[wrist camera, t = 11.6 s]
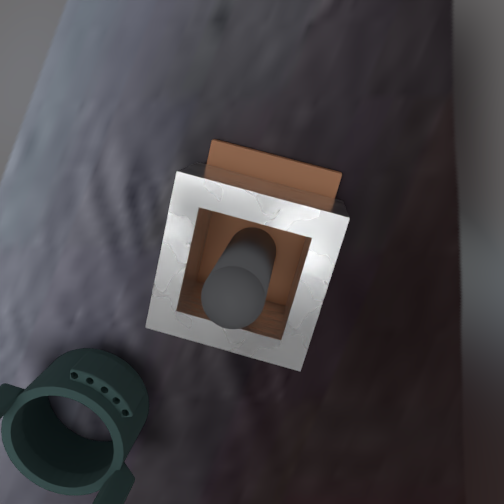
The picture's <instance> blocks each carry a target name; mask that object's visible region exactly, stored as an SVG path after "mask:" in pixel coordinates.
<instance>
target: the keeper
mask: <svg viewBox="0 0 504 504" xmlns="http://www.w3.org/2000/svg"><path fill="white" fill-rule="evenodd" d="M207 164H208V165H212V166H215V167H219V168H223V169H226V170H230V171H234V172H238V173H241V174H245V175H249V176H252V177H256V178H260V179H264V180H267V181H271V182H275V183H278V184H282V185H286V186H290V187H293V188H297V189H301V190H305V191H308V192H312V193H316V194H319V195H323V196H327V197H331V198H334V199H335V196H336V193H337V190H338V186H339V183H340V180H341V177H342V173H341V172H339V171H335V170H331V169H327V168H323V167H320V166H316V165H312V164H308V163H304V162H301V161H297V160H293V159H289V158H286V157H282V156H278V155H274V154H270V153H267V152H263V151H259V150H255V149H251V148H248V147H244V146H240V145H236V144H232V143H229V142H225V141H221V140H217V139H213V140H212V142H211V146H210V151H209V156H208V160H207ZM305 238H306V236H303V235H299V234H295V233H292V232H288V231H284V230H281V229H277V228H273V227H270V226H266V225H262V224H259V223H255V222H251V221H248V220H244V219H240V218H237V217H233V216H229V215H226V214H222V213H218V212H215V211H213V212H212V216H211V220H210V225H209V229H208V233H207V238H206V242H205V246H204V251H203V255H202V259H201V264H200V268H199V272H198V277H197V281H199V282H203V283H204V285H203V288H202V292H201V302H202V306H203V309H204V312H205V313H206V315H207V316H208V318H209V319H210V320H211V321H212V322H214V323H215V324H217V325H218V326H220V327H223V328H227V329H240V328H244V327H246V326H248V325H250V324H251V323H253V322H254V321H255V320H256V319H257V318H258V317H259V315H260V314H261V312H262V310H263V307H264V304H265V300H267V301H271V302H274V303H278V304H282V305H285V306H286V302H287V299H288V295H289V292H290V289H291V285H292V282H293V279H294V275H295V272H296V268H297V265H298V262H299V258H300V255H301V252H302V248H303V245H304V241H305Z"/></svg>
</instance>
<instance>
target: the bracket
mask: <svg viewBox="0 0 504 504" xmlns="http://www.w3.org/2000/svg"><path fill="white" fill-rule="evenodd" d="M50 395H52V396H62V397H66V398H70V399H73V400H75V401H78V402H80V403H82V404H84V405H85V406H87V407H88V408H90V409H91V410H92V411H93V412H95V413H96V414H97V415H98V416H99V417H100V419H101V420H102V421H103V422H104V423H105V425H106V427H107V428H108V430H109V432H110V435H111V438H112V440H113V441H108V442H106V441H94V440H89V439H86V438H84V437H81V436H79V435H77V434H75V433H73V432H72V431H71V430H69V429H68V428H66V427H65V426H64V425H63V424H62V423H61V422H60V421H59V419H58V418H57V417H56V415H55V414H54V412H53V410H52V408H51V406H50V403H49V400H48V396H50ZM148 411H149V397H148V394H147V390H146V387H145V385H144V383H143V381H142V379H141V378H140V376H139V375H138V373H137V372H136V371H135V370H134V369H133V368H132V367H131V366H130V365H129V364H128V363H127V362H125V361H124V360H123V359H121V358H119V357H117V356H116V355H114V354H112V353H109V352H106V351H103V350H98V349H91V348H83V349H76V350H72V351H69V352H67V353H65V354H63V355H61V356H60V357H58V358H57V359H56V360H55V361H54V362H53V363H52V364H51V365H50V366H49V367H48V368H47V369H46V370H45V371H44V372H43V373H42V374H40V375H39V376H38V377H37V378H36V379H35V380H34V381H33V382H32V383H31V384H30V385H29V386H28V387H27V388H26V389H22V388H19V387H16V386H12V385H9V384H6V383H5V384H2V385H1V386H0V418H1V417H2V416H3V415H4V416H3V420H2V428H1V433H2V441H3V444H4V447H5V450H6V452H7V454H8V456H9V458H10V460H11V461H12V463H13V464H14V465H15V467H16V468H17V469H18V470H19V471H20V472H21V473H22V474H23V475H24V476H25V477H26V478H28V479H29V480H30V481H32V482H33V483H35V484H36V485H38V486H40V487H42V488H44V489H46V490H49V491H52V492H55V493H58V494H64V495H86V494H90V493H93V492H97V491H98V490H100V491H99V493H98V495H97V496H96V498H95V500H94V502H93V504H124V502H125V500H126V498H127V496H128V494H129V492H130V490H131V488H132V486H133V483H134V481H135V477H134V476H133V474H132V473H131V471H130V470H129V468H128V467H127V466H126V464H125V463H124V461H125V459H126V457H127V455H128V454H129V452H130V450H131V448H132V446H133V444H134V442H135V440H136V439H137V437H138V435H139V433H140V431H141V429H142V427H143V425H144V424H145V422H146V419H147V416H148Z"/></svg>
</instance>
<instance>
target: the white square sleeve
mask: <svg viewBox="0 0 504 504" xmlns="http://www.w3.org/2000/svg"><path fill="white" fill-rule="evenodd" d="M213 211H215V212H218V213H222V214H226V215H229V216H233V217H237V218H240V219H244V220H248V221H251V222H255V223H259V224H262V225H266V226H270V227H273V228H277V229H281V230H284V231H288V232H292V233H295V234H299V235H303V236H306V238H305V241H304V245H303V248H302V252H301V255H300V258H299V262H298V265H297V268H296V272H295V275H294V279H293V282H292V285H291V289H290V292H289V295H288V299H287V302H286V306H285V305H282V304H278V303H274V302H271V301H267V300H265V304H264V307H263V310H262V312H261V314H260V315H259V317H258V318H257V319H256V320H255V321H254V322H253V323H251V324H250V325H248V326H246V327H244V328H240V329H227V328H223V327H220V326H218V325H217V324H215V323H214V322H212V321H211V320H210V319H209V318H208V316H207V315H206V313H205V312H204V309H203V306H202V302H201V292H202V288H203V285H204V283H203V282H199V281H197V277H198V272H199V268H200V264H201V259H202V255H203V251H204V246H205V242H206V238H207V233H208V229H209V225H210V220H211V216H212V212H213ZM349 219H350V217H349V215H348V212H347V210H346V207H345V205H344V203H343V201H342V200H338V199H334V198H331V197H327V196H323V195H319V194H316V193H312V192H308V191H305V190H301V189H297V188H293V187H290V186H286V185H282V184H278V183H275V182H271V181H267V180H264V179H260V178H256V177H252V176H249V175H245V174H241V173H238V172H234V171H230V170H226V169H223V168H219V167H215V166H212V165H208V164H204V163H200V162H197V163H195V164H193V165H190V166H188V167H185V168H183V169H181V170H178V171H177V172H176V177H175V182H174V187H173V192H172V197H171V202H170V207H169V212H168V217H167V222H166V227H165V232H164V237H163V242H162V247H161V252H160V257H159V262H158V267H157V272H156V277H155V282H154V287H153V292H152V297H151V302H150V307H149V312H148V316H147V321H146V326H145V328H149V329H152V330H156V331H159V332H163V333H166V334H170V335H173V336H177V337H180V338H184V339H187V340H191V341H194V342H198V343H202V344H205V345H209V346H212V347H216V348H219V349H223V350H226V351H230V352H233V353H237V354H240V355H244V356H247V357H251V358H254V359H258V360H261V361H265V362H268V363H272V364H275V365H279V366H282V367H286V368H290V369H293V370H297V371H300V372H301V368H302V365H303V362H304V359H305V356H306V353H307V350H308V347H309V344H310V340H311V337H312V334H313V331H314V328H315V325H316V322H317V319H318V316H319V313H320V309H321V306H322V303H323V300H324V297H325V294H326V291H327V288H328V285H329V281H330V278H331V275H332V272H333V269H334V266H335V263H336V260H337V257H338V253H339V250H340V247H341V244H342V241H343V238H344V235H345V232H346V229H347V225H348V222H349Z"/></svg>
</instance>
